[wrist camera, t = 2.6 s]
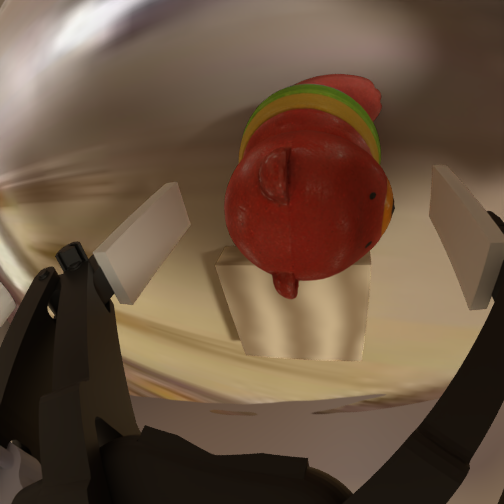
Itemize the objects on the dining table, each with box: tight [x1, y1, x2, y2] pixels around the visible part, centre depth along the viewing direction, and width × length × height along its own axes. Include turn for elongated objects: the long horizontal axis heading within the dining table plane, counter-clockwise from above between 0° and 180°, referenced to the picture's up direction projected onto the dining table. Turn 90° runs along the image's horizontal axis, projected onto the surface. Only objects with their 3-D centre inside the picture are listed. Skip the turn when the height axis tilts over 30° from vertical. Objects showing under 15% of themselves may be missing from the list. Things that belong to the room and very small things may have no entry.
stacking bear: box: [224, 74, 395, 299], centre depth 17 cm, size 11×10×18 cm
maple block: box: [215, 246, 371, 361], centre depth 35 cm, size 16×16×4 cm
